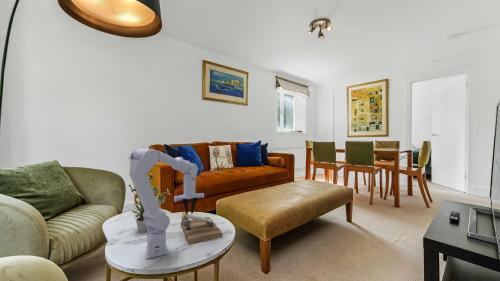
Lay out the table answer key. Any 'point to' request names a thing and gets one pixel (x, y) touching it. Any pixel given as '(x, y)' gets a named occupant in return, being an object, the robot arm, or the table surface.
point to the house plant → (140, 219)
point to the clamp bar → (199, 218)
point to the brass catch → (184, 215)
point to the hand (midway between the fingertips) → (189, 213)
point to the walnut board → (199, 230)
